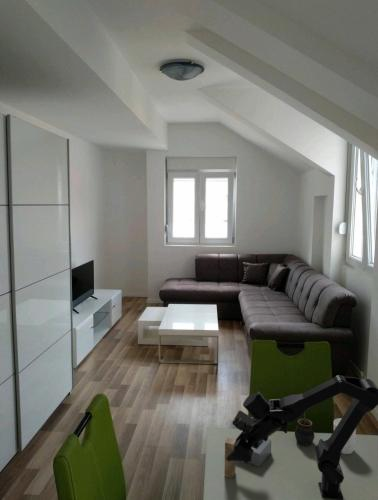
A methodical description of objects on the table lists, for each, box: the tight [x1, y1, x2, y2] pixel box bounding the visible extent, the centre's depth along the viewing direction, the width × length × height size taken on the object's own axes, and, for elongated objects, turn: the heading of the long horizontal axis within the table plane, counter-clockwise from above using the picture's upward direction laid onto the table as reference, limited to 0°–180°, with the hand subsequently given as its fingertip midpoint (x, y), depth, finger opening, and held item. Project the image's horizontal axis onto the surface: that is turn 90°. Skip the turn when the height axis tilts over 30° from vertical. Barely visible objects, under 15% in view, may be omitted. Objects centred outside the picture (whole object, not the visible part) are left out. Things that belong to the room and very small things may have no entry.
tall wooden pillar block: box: [223, 437, 237, 479], centre depth 134 cm, size 3×3×12 cm
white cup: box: [333, 417, 357, 455], centre depth 149 cm, size 8×8×10 cm
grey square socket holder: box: [248, 438, 272, 468], centre depth 145 cm, size 10×10×5 cm
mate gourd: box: [294, 412, 315, 446], centre depth 153 cm, size 7×8×10 cm
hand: (231, 451), depth 134 cm, fingers open, 9 cm apart
